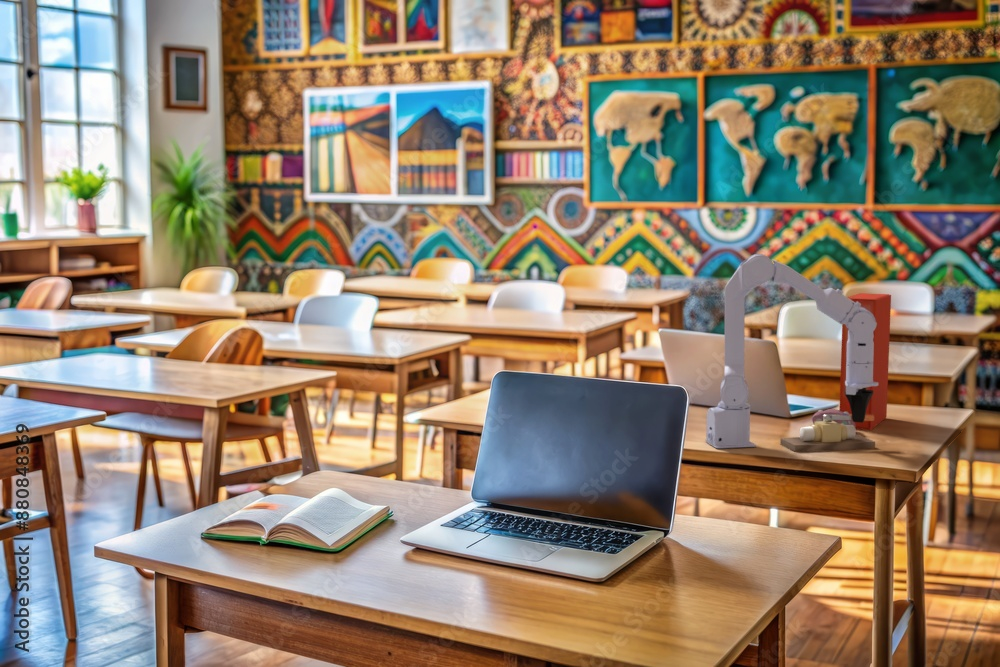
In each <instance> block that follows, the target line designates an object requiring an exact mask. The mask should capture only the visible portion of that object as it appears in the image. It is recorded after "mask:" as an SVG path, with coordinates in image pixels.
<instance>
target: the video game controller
mask: <svg viewBox="0 0 1000 667" xmlns="http://www.w3.org/2000/svg"><path fill="white" fill-rule="evenodd" d="M825 414H830V415H850V414H849V413H848V412H842V411H839V410H838V409H835V408H830V409H829V408H828V409H825V410H823V409H819V410H818V411H816V412H815V413H814V414H813V415H812V418H811V422H812V423H813V424H812V425H814V422H816V421H823V415H825ZM832 421H834V422H837V423H839V424H842V423H843V424H845V425H853V426H854V427H855V422H853V421H851V420H832Z"/></svg>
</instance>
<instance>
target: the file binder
mask: <svg viewBox="0 0 1000 667" xmlns="http://www.w3.org/2000/svg"><path fill="white" fill-rule="evenodd" d="M846 297H847V296H846ZM847 298H849V299H850V300H852V301H854V302H855V303H856V302H859V303H860V304H861V306H860V307H864V308H865V309H866V310H868V311H869V312H871V313H872V314H873V315H874V317H875V320H876V323H877V325H876V328H875V330H874V331H873V335H874V337H873V342H874V354H873V382H878V386H871V387H866V390H873V395H872V397H871V398H870V401H869V403H868V406H867V410H866V414H873V415H874V421H864V422H863V423H860V422H855V430H865V431H866V430H867V431H871V430H873V429H874V428H875V427H876V426H878V425H879V424H880V423H882V422H883V421H884V420H885V419H886V418H887V413H888V385H889V359H890V332H891V331H890V330H891V313H892V312H891V307H892V306H891V305H892V294H888V293H887V294H886V293H861V292H860V293H857V294H853V295H849V296H848V297H847ZM841 326H842V327H841V352H840V353H841V355H840V357H841V358H840V378H839V380H840V381H839V411H842V412H848V413H849V414H852V412H851V408H850V404H849V401H848V399H847V397H846V396H845V390H846V385H845V381H846V362H847V361H846V359H847V341H848V330H849V329H848V328H847V327H846V324H841ZM850 331H851V330H850Z"/></svg>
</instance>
